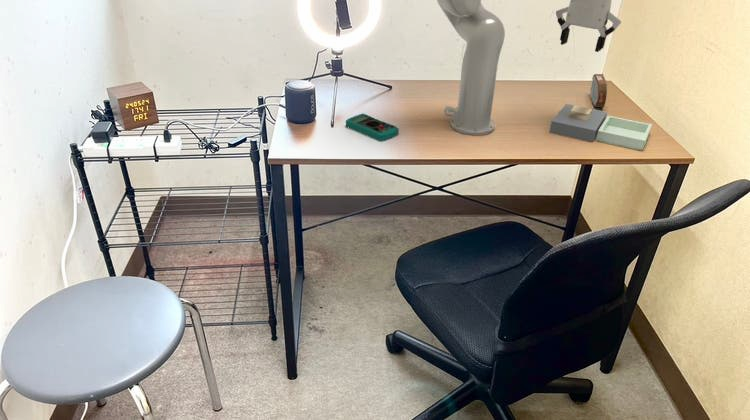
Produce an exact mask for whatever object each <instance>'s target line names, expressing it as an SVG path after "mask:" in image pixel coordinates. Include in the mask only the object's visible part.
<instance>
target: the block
mask: <svg viewBox="0 0 750 420" xmlns="http://www.w3.org/2000/svg"><path fill="white" fill-rule="evenodd" d="M574 105H575V106H574V107H573V108H572V110H571V111H570V115H569V118H574V119H579V120H584V121H588V119H589V118H590V116H591V113H592V109H593V108H590V107H584V106H579V105H576V104H574Z"/></svg>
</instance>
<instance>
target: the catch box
mask: <svg viewBox="0 0 750 420" xmlns="http://www.w3.org/2000/svg"><path fill="white" fill-rule="evenodd" d="M652 126H653V124H652V123H647V122H642V121H636V120H631V119H626V118H621V117H617V116H613V115H607V116H606V119H605V121H604V122H603V124H602V126H601V127H600V129H599V130H598V134H597V136H596V138H595V141H596V142H600V143H604V144H608V145H613V146H616V147H622V148H628V149H630V150H635V151H641V152H643V150H644V147H645V146H646V143H647V141H648V138H649V137H650V133H651V130H652Z"/></svg>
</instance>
